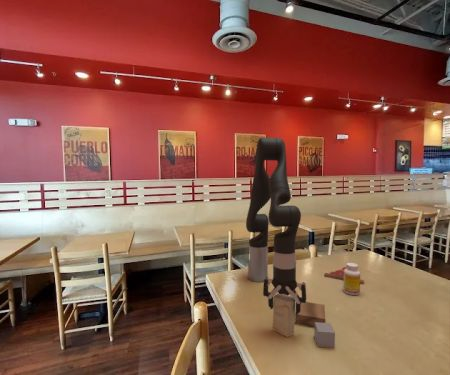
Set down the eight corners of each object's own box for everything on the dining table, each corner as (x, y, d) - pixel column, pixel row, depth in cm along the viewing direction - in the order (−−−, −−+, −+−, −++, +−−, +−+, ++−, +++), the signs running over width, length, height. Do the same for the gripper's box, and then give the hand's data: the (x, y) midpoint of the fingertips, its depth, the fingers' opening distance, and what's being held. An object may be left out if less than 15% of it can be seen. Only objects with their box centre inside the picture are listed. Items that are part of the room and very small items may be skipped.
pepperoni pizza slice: (323, 273, 133) (331, 261, 150) (323, 277, 133) (330, 265, 150) (364, 281, 123) (367, 268, 140) (364, 286, 123) (367, 272, 140)
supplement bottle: (361, 296, 112) (362, 267, 111) (345, 295, 113) (346, 266, 112) (357, 289, 118) (357, 262, 118) (341, 288, 120) (342, 261, 119)
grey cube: (318, 346, 81) (318, 331, 80) (314, 336, 86) (314, 322, 85) (334, 348, 80) (334, 332, 80) (330, 337, 85) (330, 323, 85)
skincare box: (272, 330, 89) (272, 296, 88) (279, 324, 92) (279, 291, 92) (288, 338, 85) (288, 302, 84) (295, 332, 88) (295, 297, 87)
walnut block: (295, 324, 93) (295, 313, 93) (297, 310, 102) (297, 300, 102) (325, 330, 89) (325, 319, 89) (324, 314, 99) (324, 304, 99)
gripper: (261, 265, 86) (261, 312, 87) (305, 270, 81) (305, 320, 82) (266, 258, 93) (266, 301, 94) (307, 263, 88) (306, 309, 89)
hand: (284, 310), depth 88 cm, fingers open, 8 cm apart
